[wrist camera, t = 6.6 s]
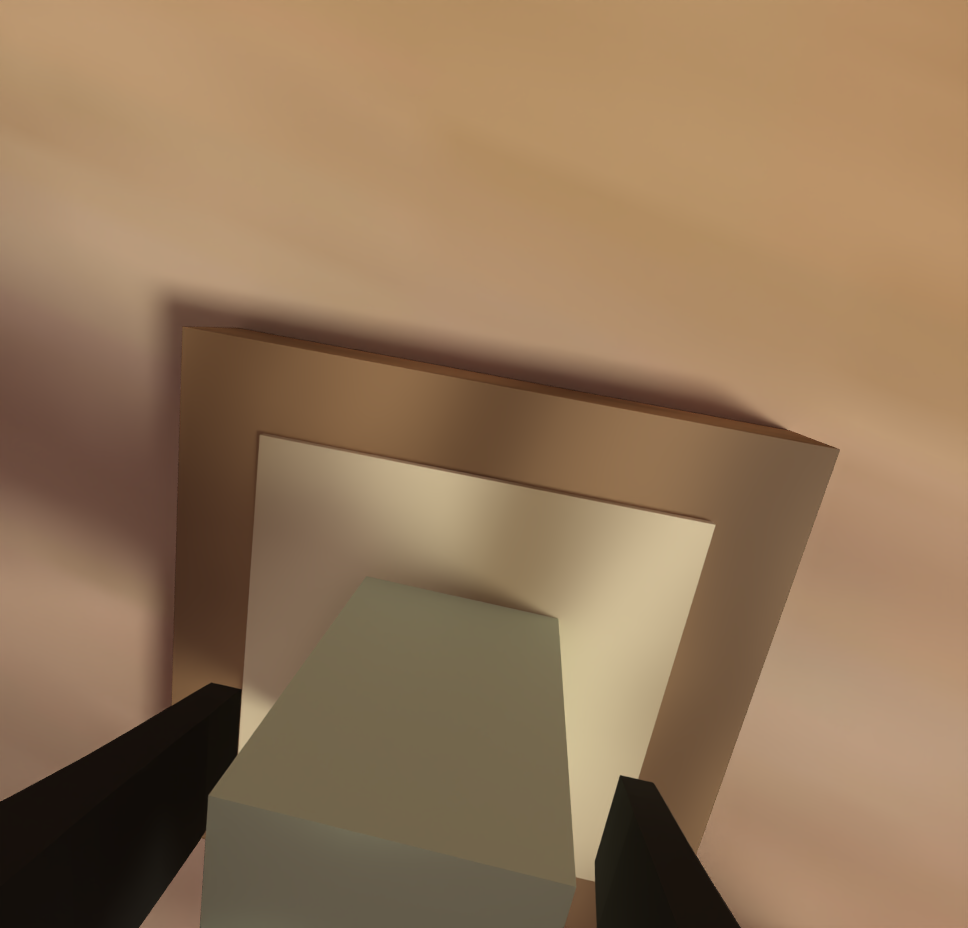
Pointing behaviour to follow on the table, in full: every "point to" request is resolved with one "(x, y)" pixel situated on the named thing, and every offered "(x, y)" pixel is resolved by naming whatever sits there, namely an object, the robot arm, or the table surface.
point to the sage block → (403, 777)
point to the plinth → (492, 543)
